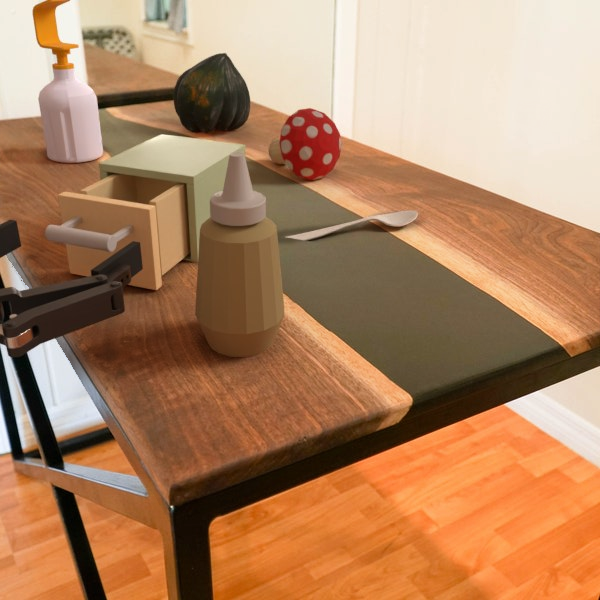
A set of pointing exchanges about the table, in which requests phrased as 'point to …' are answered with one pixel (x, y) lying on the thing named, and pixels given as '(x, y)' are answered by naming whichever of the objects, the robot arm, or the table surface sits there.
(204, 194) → the cabinet
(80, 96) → the soap bottle
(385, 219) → the spoon
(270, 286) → the squeeze bottle
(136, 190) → the drawer
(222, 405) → the table surface
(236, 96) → the squash
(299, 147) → the decorative mushroom
